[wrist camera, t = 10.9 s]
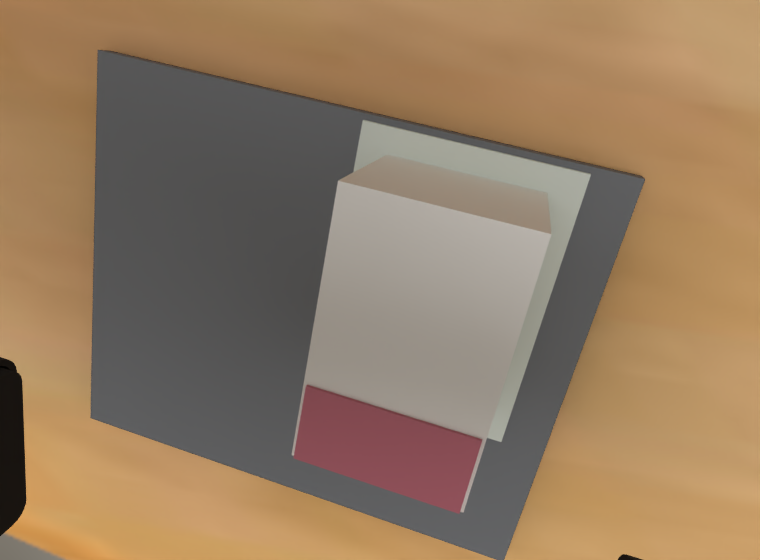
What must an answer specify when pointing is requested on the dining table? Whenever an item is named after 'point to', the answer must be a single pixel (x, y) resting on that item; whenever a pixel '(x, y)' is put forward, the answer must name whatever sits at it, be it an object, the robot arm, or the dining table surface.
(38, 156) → the dining table surface
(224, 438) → the mat
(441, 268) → the card deck case
